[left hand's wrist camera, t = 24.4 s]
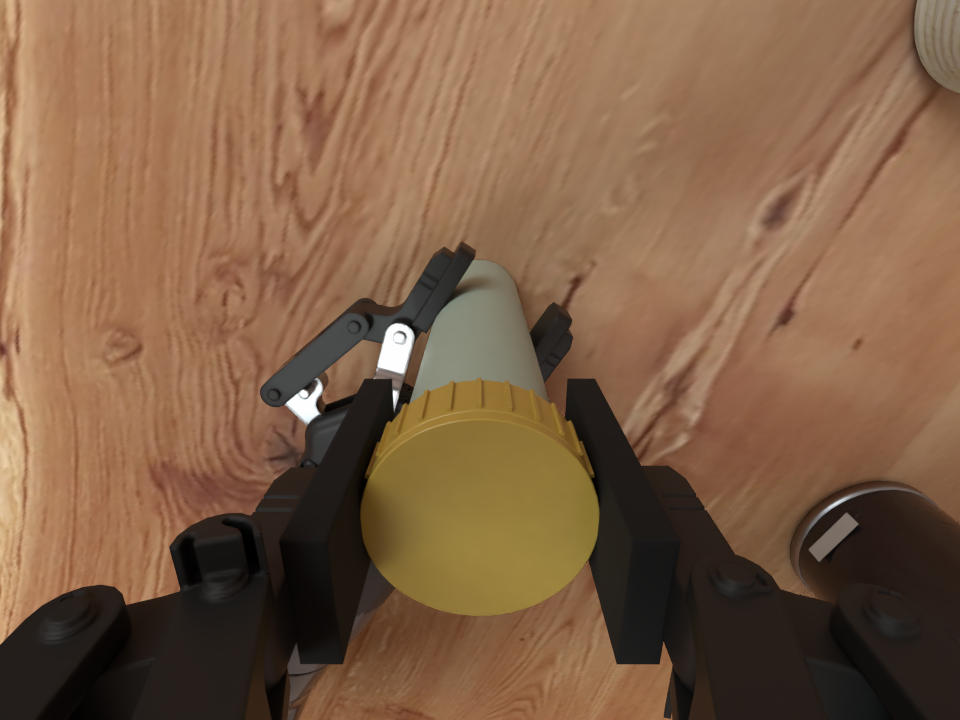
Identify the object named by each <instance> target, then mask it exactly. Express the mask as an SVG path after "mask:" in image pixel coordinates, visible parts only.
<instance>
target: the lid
mask: <svg viewBox="0 0 960 720" xmlns="http://www.w3.org/2000/svg"><path fill="white" fill-rule="evenodd" d="M594 477H595V475H594V472H593V469H592V467H591V464H590V461H589V458H588V456H587V453H586V450H585V448H584V445H583V442H582V441H580V442H579V439H578V437H577V434H576V431H575V428H574V425H573V423H572V422H571V420H570V421H568V422H567V420H566V419H565V418H564V416H563V415H562V414H561V413H560V412H559V411H558V409H557V406H556V404H555V403H552V404H550V403H548V402H547V401H546V400H544V399H543V398H541V397H540V396H538V395H536V394H535V391H534V390H532V389H530V390H529V391H528V390H526V389H523V388H521V387H518V386H515V385H511V384H509V381H506V380H505V381H504V383H503V382H497V381H488V380H482V378H477V380H472V381H462V382H457V383H455V382H454V381H450V382H449V384H448V385H445V386H442V387H439V388H436V389H433V390H431V391H429V390H428V389H427V390H425V391H424V393H423V395H421V396H420V397H418V398H417V399H416V400H414V401H413V402H411V403H410V404H409V405H407V404H406V403H405V404H404V405H403V406H402V409H401V412H400V413H399V414H398V415H397V416H396V418H395V419H394V420H393V421H392V422H390V421H388V422H387V424H386V427H385V429H384V432H383V435H382V438H381V441H380V442H377V444H376V447H375V449H374V452H373V455H372V458H371V460H370V463H369V466H368V468H367V471H366V474H365V477H364V478H365V479H368V480H367V483H366V486H365V488H364V492H363V496H362V499H361V505H360V519H361V529H362V538H363V542H364V545H365V547H366V550H367V552H368V554H369V556H370V558H371V560H372V561H373V563H374V565H375V566H376V568H377V569H378V570H379V571H380V573H381V574H382V575H383V576H384V577H385V578H386V579H387V580H388V581H389V582H390V583H391V584H392V585H393V586H394V587H395V588H397V589H398V590H399V591H401V592H402V593H403V594H405V595H407V596H408V597H410V598H412V599H413V600H415V601H417V602H419V603H421V604H424V605H426V606H428V607H431V608H434V609H437V610H440V611H444V612H448V613H453V614H459V615H467V616H492V615H501V614H507V613H512V612H516V611H519V610H523V609H526V608H529V607H531V606H534V605H536V604H539V603H541V602H542V601H544V600H546V599H548V598H550V597H552V596H553V595H555V594H556V593H558V592H559V591H560V590H562V589H563V588H564V587H565V586H567V585H568V584H569V583H570V582H571V581H572V580H573V579H574V578H575V577H576V576H577V575H578V573H579V572H580V571H581V570H582V569H583V567H584V566H585V564H586V563H587V561H588V559H589V558H590V555H591V553H592V551H593V549H594V547H595V543H596V540H597V535H598V526H599V515H600V507H599V501H598V496H597V493H596V490H595V487H594V484H593V482H592V479H591V478H594Z"/></svg>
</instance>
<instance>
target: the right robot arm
mask: <svg viewBox="0 0 960 720" xmlns="http://www.w3.org/2000/svg"><path fill="white" fill-rule="evenodd" d="M475 251H476V250H474V249H473V248H471V247H470V246H468V245H467V244H465V243H464V242H461V243H460V244H459V246H458V247H457V249H456V251H455V252H454V253H453V252H452V251H450V250H448V249H447V248H445V247H443V248H442V249H440V250H439V251H438V252H436V253H435V254H434V255H433V257H432V258H431V260H430V262H429V263H428V265H427V266H426V268H425V270H424V271H423V273H422V275H421V276H420V278H419V280H418V281H417V283H416V284H415V286H414V288H413V289H412V291H411V293H410V294H409V296H408V297H407V299H406V300H405V302H404V303H403V304H401V305H399V306H397V307H386V306H382V305H377V304H376V302H374V301H373V300H371V299H368V298H362V299H359V300H358V301H356V302H355V303H354V304H353V305H352V306H351V307H349V308H348V309H347V310H346V311H345V312H344V313H343V314H341V315H340V316H339V317H338V318H337V319H336V320H334V321H333V322H332V323H331V324H330V325H329V326H327V327H326V328H325V329H324V330H323V331H322V332H320V333H319V334H318V335H317V336H316V337H315V338H313V339H312V340H311V341H310V342H309V343H308V344H306V345H305V346H304V347H303V348H302V349H301V350H299V351H298V352H297V353H296V354H295V355H294V356H292V357H291V358H290V359H289V360H288V361H287V362H285V363H284V364H283V365H282V366H281V367H280V368H279V369H278V370H277V371H276V372H275V373H274V374H273V375H272V376H271V378H270V379H269V380H268V381H267V382H266V383H265V384H264V385H263V386H262V387H261V390H260V395H261V398H262V400H263V401H264V402H265V403H266V404H267V405H269V406H272V407H280V406H283V405H284V404H285V405H286V406H287V407H288V408H289V409H290V410H291V411H292V412H293V413H294V414H295V415H296V416H297V417H299V418H300V419H301V420H302V421H303V422H304V423H305V424H306V425H307V428H306V431H305V443H306V445H305V451H304V453H303V455H302V457H301V458H300V460H299V462H298V463H297V465H296V466H295V467H318V466H319V464H320V462H321V460H322V459H323V457H324V455H325V453H326V451H327V449H328V447H329V445H330V443H331V442H332V440H333V438H334V436H335V434H336V432H337V430H338V428H339V427H340V425H341V423H342V421H343V419H344V417H345V415H346V413H347V411H348V410H349V408H350V406H351V404H352V402H353V400H354V398H355V396H356V395H357V394H354V395H352V396H349V397H346V398H343V399H340V400H338V401H335V402H332V403H329V404H327V405H326V404H325V403H324V402H323V399H322V393H323V391H324V390H325V388H326V387H327V385H328V376H327V374H326V373H325V372H324V371H325V370H326V369H328V368H329V367H330V366H331V365H332V364H334V363H335V362H336V361H337V360H338V359H340V358H341V357H342V356H343V355H344V354H346V353H347V352H348V351H349V350H350V349H352V348H353V347H354V346H355V345H356V344H358V343H359V342H360V341H361V340H362V339H364V340H368V341H373V342H378V343H382V344H383V345H382V349H381V353H380V357H379V361H378V365H377V369H376V372H375V375H374V378H373V379H392V386H393V401H394V416H395V418H396V416H397V415H398V414H399V413H400V412H401V409H402V406H403V405H404V404H405V403H406V404H407V405H409V404H410V400H411V397H412V393H413V390H414V388H413V387H411V386H410V385H408V384H406V383H405V379H406V376H407V372H408V368H409V365H410V361H411V356H412V353H413V349H414V345H415V342H416V339H417V338H418V336H419V335H420V333H421V332H422V331H423V332H425V333H427V332H428V330H429V329H430V327H431V325H432V324H433V322H434V321H435V319H436V317H437V316H438V314H439V313H440V311H441V310H442V308H443V307H444V305H445V304H446V302H447V301H448V299H449V297H450V296H451V294H452V293H453V291H454V290H455V288H456V287H457V285H458V283H459V282H460V280H461V279H462V277H463V276H464V274H465V273H466V271H467V269H468V268H469V266H470V265H471V263H472V261H473V259H474V257H475ZM571 323H572V318H571V317H570V315H569V313H568V312H567V310H565V309H564V308H562V307H561V306H559V305H557V304H556V303H554V302H553V303H552V304H550V305H549V307H548V308H547V309H546V311H545V312H544V313H543V315H542V316H541V317H540V319H539V320H538V322H537V323H536V324H535V326H534V327H533V329H532V330H531V331H530V336H531V340H532V343H533V347H534V350H535V354H536V357H537V360H538V364H539V367H540V371H541V374H542V378H543V381H544V383H545V381H546V380H547V379H548V377H549V376H550V375H551V373H552V372H553V371H554V369H555V368H556V366H557V365H558V364H559V363H560V361H561V359H563V358H564V356H565V355H566V354H567V352H568V351H569V350H570V347H571V343H572V340H573V336H572V334H571V332H570V330H569V327H570V326H571ZM790 557H791V563H792V566H793V568H794V570H795V572H796V574H797V575H798V577H799V578H800V579H801V581H802V582H803V583H804V585H805V586H806V587H807V588H808V589H809V590H810V591H811V592H812V593H813V594H814V595H815V596H816V598H817V599H819V600H823V601H827V602H831V603H835V600H836V597H837V593H838V591H840V590H841V589H842V588H843V587H844V586H845V585H848V584H854V583H866V584H874V585H879V586H882V587H885V588H888V589H890V590H893V591H896V592H899V593H900V594H902V595H904V596H906V597H908V598H909V599H911V600H913V601H915V602H917V603H918V604H920V605H921V606H922V607H923V608H925V609H926V610H927V611H928V612H929V613H931V614H932V615H933V616H934V617H935V618H936V619H937V620H938V621H939V622H940V623H941V624H942V625H943V626H944V627H945V628H946V629H947V630H948V631H949V632H950V633H951V634H952V635H953V636H954V637H955V638H956V639H957V640H958V641H959V642H960V523H958V522H957V521H956V520H954V519H953V518H952V517H950V516H949V515H948V514H946V513H945V512H944V511H942V510H941V509H940V508H939V507H938V506H937V505H936V504H935V503H934V502H933V501H932V500H931V499H929V498H928V497H927V496H925V495H924V494H923V493H921V492H920V491H918V490H917V489H915V488H913V487H911V486H908V485H905V484H902V483H898V482H891V481H874V482H866V483H862V484H857V485H854V486H851V487H848V488H845V489H843V490H841V491H838V492H836V493H834V494H833V495H831V496H829V497H828V498H826V499H824V500H823V501H822V502H820V503H819V504H818V505H816V506H815V507H814V508H813V509H812V510H811V511H810V512H809V513H808V514H807V515H806V516H805V518H804V519H803V520H802V521H801V523H800V524H799V526H798V528H797V530H796V532H795V534H794V536H793V539H792V543H791V549H790ZM394 589H395V587H394V586H393V585H392V584H391V583H390V582H389V581H388V580H387V579H386V578H385V577H384V576H383V575H382V574H381V573H380V571H379V570H378V569H377V568H376V566H375V565H374V563H373V561H372V560H371V563H370V566H369V570H368V574H367V577H366V581H365V585H364V588H363V592H362V595H361V599H360V603H359V606H358V610H357V614H356V617H355V621H354V625H353V628H352V632H351V636H350V639H349V643H348V644H350V643H351V642H352V641H353V640H354V639H355V638H356V637H357V636H358V635H359V634H360V632H361V631H362V630H363V629H364V628H365V627H366V625H367V624H368V623H369V621H370V620H371V619H372V618H373V616H374V615H375V614H376V612H377V611H378V610H379V608H380V607H381V606H382V604H383V603H384V602H385V601H386V599H387V598H388V597H389V595H390V594H391V593H392V591H393V590H394ZM329 666H330V664H300V660H299V654H298V648H297V642H296V645H295V648H294V650H293V653H292V655H291V658H290V661H289V663H288V666H287V667H288V672H289V679H290V686H291V688H290V699H289V709H288V720H299V718H300V715H301V713H302V710H303V708H304V706H305V703H306V701H307V699H308V696H309V694H310V692H311V690H312V688H313V687H314V686H315V685H316V683H317V682H318V680H319V679H320V677H321V676H322V675H323V674H324V672H325V671H326V670H327V668H328V667H329Z"/></svg>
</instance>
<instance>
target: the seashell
mask: <svg viewBox="0 0 960 720" xmlns="http://www.w3.org/2000/svg"><path fill="white" fill-rule="evenodd" d="M914 35H915V43H916V47H917V50H918V54H919V58H920V60H921V63H922V64H923V66H924V67H925V69H926V70H927V72H928V74H929V75H930V76H931V77H932V78H933V79H934V80H935V81H937V82H938V83H939V84H940V85H942V86H943V87H944V88H947V89H949V90H951V91H953V92H956V93H959V94H960V0H917V4H916V10H915V20H914Z"/></svg>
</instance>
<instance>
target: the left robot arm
mask: <svg viewBox="0 0 960 720" xmlns="http://www.w3.org/2000/svg"><path fill="white" fill-rule="evenodd" d="M394 419H395V416H394V401H393V386H392V379H364V381H363V383H362V385H361V387H360V389H359V391H358V393H357V395H356V396H355V398H354V400H353V402H352V404H351V406H350V408H349V410H348V411H347V413H346V415H345V417H344V419H343V421H342V423H341V425H340V427H339V428H338V430H337V432H336V434H335V436H334V438H333V440H332V442H331V443H330V445H329V447H328V449H327V451H326V453H325V455H324V457H323V459H322V460H321V462H320V464H319V466H318V467H291V468H290V469H289V470H287V471H286V472H285V473H283V474H282V475H281V476H279V477H278V478H277V479H275V480H274V481H273V483H272V484H271V486H270V487H269V489H268V491H267V492H266V494H265V495H264V499H262V500H261V501H260V503H259V504H258V506H257V508H256V511H255V512H253V514H252V515H251V516H250V515H246V514H242V513H228V514H221V515H217V516H213V517H209V518H206V519H204V520H202V521H200V522H198V523H196V524H193V525H191V526H190V527H189V528H187V529H186V530H185V531H183V532H182V533H181V534H179V535H178V536H177V537H176V539H175V540H174V541H173V543H172V544H171V545H170V547H169V548H170V552H171V556H172V559H173V563H174V567H175V570H176V574H177V578H178V581H179V585H180V591H179V592H176V593H173V594H170V595H167V596H163V597H159V598H154V599H150V600H146V601H142V602H138V603H133V604H129V605H126V604H125V601H124V598H123V595H122V593H121V592H119V591H118V590H117V589H116V588H115V587H111V586H105V585H95V586H88V587H82V588H79V589H76V590H74V591H71V592H68V593H65V594H62V595H60V596H59V597H57V598H55V599H53V600H51V601H50V602H48V603H46V604H44V605H42V606H41V607H40V608H39V609H38V610H36V611H35V612H34V613H33V614H31V615H30V616H29V617H28V618H27V619H25V620H24V621H23V622H22V623H21V624H20V625H19V626H18V627H17V628H16V629H15V631H14V632H13V633H12V634H11V635H10V636H9V637H8V638H7V639H6V640H5V641H4V642H3V643H2V644H1V645H0V720H288V709H289V699H290V688H291V686H290V679H289V672H288V667H287V666H288V663H289V661H290V658H291V655H292V653H293V650H294V648H295V645H296V642H297V648H298V654H299V660H300V664H343V661H344V658H345V654H346V650H347V647H348V643H349V639H350V636H351V632H352V628H353V625H354V621H355V617H356V614H357V610H358V606H359V603H360V599H361V595H362V592H363V588H364V585H365V581H366V577H367V574H368V570H369V566H370V563H371V558H370V556H369V554H368V552H367V550H366V547H365V545H364V542H363V538H362V529H361V519H360V505H361V499H362V496H363V492H364V488H365V486H366V483H367V480H368V479H365V478H364V477H365V474H366V471H367V468H368V466H369V463H370V460H371V458H372V455H373V452H374V449H375V447H376V444H377V442H380V441H381V438H382V435H383V432H384V429H385V427H386V424H387V422H388V421H390V422H392V421H393V420H394ZM565 419H566V420H567V422H568V421H570V420H571V422H572V423H573V425H574V428H575V431H576V434H577V437H578V439H579V442H580V441H582V442H583V445H584V448H585V450H586V453H587V456H588V458H589V461H590V464H591V467H592V469H593V472H594V475H595V477H594V478H591V479H592V482H593V484H594V487H595V490H596V493H597V496H598V501H599V507H600V515H599V526H598V535H597V540H596V543H595V547H594V549H593V551H592V553H591V555H590V558H589V559H588V560H589V564H590V567H591V571H592V575H593V578H594V582H595V586H596V589H597V593H598V597H599V600H600V604H601V608H602V611H603V615H604V619H605V622H606V626H607V630H608V633H609V637H610V641H611V644H612V648H613V652H614V655H615V659H616V663H617V664H660V658H661V652H662V646H663V641H664V643H665V646H666V648H667V651H668V654H669V656H670V659H671V661H672V664H673V667H672V672H671V678H670V683H669V688H668V694H667V699H666V704H665V711H664V718H669V719H670V718H671V713H672V718H673V720H960V642H959V641H958V640H957V639H956V638H955V637H954V636H953V635H952V634H951V633H950V632H949V631H948V630H947V629H946V628H945V627H944V626H943V625H942V624H941V623H940V622H939V621H938V620H937V619H936V618H935V617H934V616H933V615H932V614H931V613H929V612H928V611H927V610H926V609H925V608H923V607H922V606H921V605H920V604H918V603H917V602H915V601H913V600H911V599H909V598H908V597H906V596H904V595H902V594H900V593H899V592H896V591H893V590H890V589H888V588H885V587H882V586H879V585H874V584H866V583H854V584H848V585H845V586H844V587H843V588H842V589H841V590H840V591H838V593H837V597H836V600H835V603H831V602H827V601H823V600H819V599H815V598H810V597H806V596H802V595H798V594H794V593H791V592H787V591H784V590H781V589H780V588H779V587H778V585H777V584H776V582H775V581H774V579H773V577H772V576H771V575H770V574H769V573H767V572H766V571H765V570H764V569H763V568H761V567H760V566H759V565H757V564H755V563H754V562H752V561H750V560H748V559H746V558H744V557H741V556H737V555H735V553H734V552H733V550H732V549H731V547H730V546H729V544H728V543H727V541H726V540H725V538H724V537H723V535H722V533H721V532H720V530H719V529H718V527H717V526H716V524H715V523H714V521H713V520H712V518H711V517H710V515H709V513H708V512H707V510H704V506H703V504H702V503H701V501H700V500H699V498H698V497H696V494H695V492H694V490H693V489H692V487H691V486H690V484H689V483H688V481H687V480H686V479H685V478H684V477H683V476H681V475H680V474H679V473H677V472H676V471H675V470H673V469H672V468H671V467H669V466H641V465H640V463H639V461H638V459H637V457H636V455H635V454H634V452H633V450H632V448H631V446H630V444H629V442H628V440H627V438H626V437H625V435H624V433H623V431H622V429H621V427H620V425H619V423H618V421H617V420H616V418H615V416H614V414H613V412H612V410H611V408H610V406H609V405H608V403H607V401H606V399H605V397H604V395H603V393H602V391H601V389H600V388H599V386H598V384H597V382H596V380H595V379H568V381H567V396H566V411H565Z"/></svg>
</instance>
